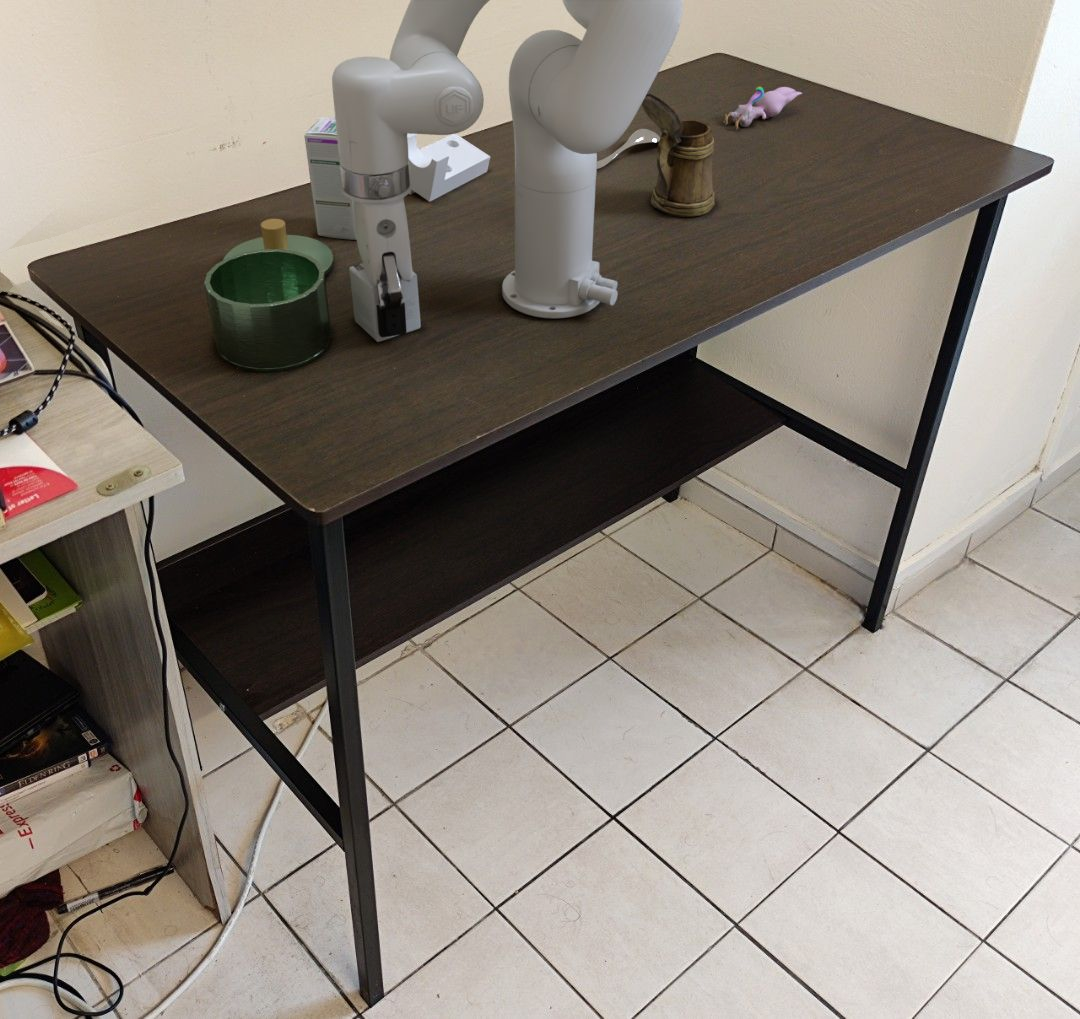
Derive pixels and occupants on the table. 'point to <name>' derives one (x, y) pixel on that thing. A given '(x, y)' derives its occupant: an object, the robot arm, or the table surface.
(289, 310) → the tin
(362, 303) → the product carton
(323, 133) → the syrup box
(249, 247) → the tin lid
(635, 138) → the metal spoon
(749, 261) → the table surface
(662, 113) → the wooden mug
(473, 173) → the bracket
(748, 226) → the table surface
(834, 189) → the table surface
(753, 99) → the pink creature figurine
